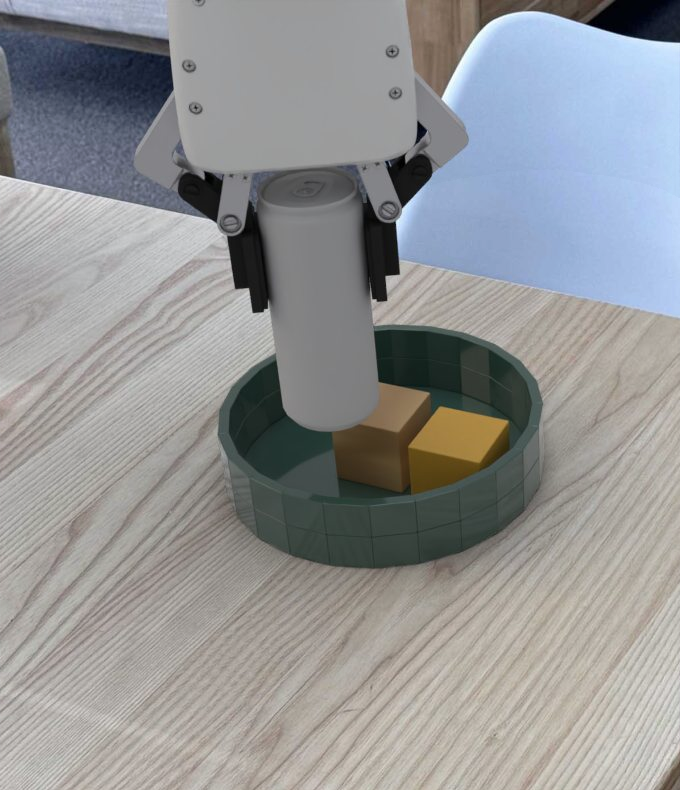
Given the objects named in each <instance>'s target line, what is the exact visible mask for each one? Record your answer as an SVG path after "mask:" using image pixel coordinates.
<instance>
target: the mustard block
mask: <svg viewBox="0 0 680 790" xmlns="http://www.w3.org/2000/svg"><path fill="white" fill-rule="evenodd" d="M509 450H510V444H509V421H507V420H503V419H498V418H493V417H488V416H484V415H479V414H474V413H469V412H465V411H460V410H455V409H450V408H446V407H439V408H438V410H437V411H436V412H435V413H434V415H433V416H432V417H431V418H430V420H429V421H428V422H427V423H426V425H425V426H424V427H423V428H422V430H421V431H420V432H419V434H418V435H417V436H416V437H415V439H414V440H413V441H412V442H411V444H410V445H409V446H408V453H409V466H410V479H411V492H412V495H414V494H418V493H421V492H425V491H429V490H433V489H436V488H440V487H444V486H447V485H451V484H454V483H456V482H458V481H460V480H462V479H464V478H466V477H468V476H470V475H473V474H475V473H477V472H479V471H481V470H483V469H485V468H487V467H489V466H490V465H491V464H493V463H494V462H495V461H497V460H498V459H499V458H500V457H502V456H503V455H504V454H505V453H507V452H508V451H509Z"/></svg>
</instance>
